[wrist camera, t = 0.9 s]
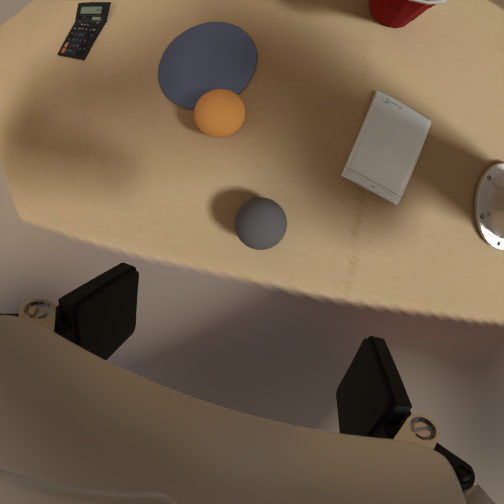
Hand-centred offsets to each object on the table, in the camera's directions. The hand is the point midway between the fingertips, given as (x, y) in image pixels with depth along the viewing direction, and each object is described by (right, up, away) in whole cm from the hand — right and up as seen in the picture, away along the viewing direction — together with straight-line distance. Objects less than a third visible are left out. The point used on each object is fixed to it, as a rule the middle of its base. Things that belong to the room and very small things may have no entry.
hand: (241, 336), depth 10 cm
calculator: (-30, +44, +22) cm, 57 cm away
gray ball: (+1, +6, +22) cm, 23 cm away
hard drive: (+17, +16, +21) cm, 31 cm away
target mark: (-6, +28, +21) cm, 36 cm away
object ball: (-3, +19, +20) cm, 28 cm away
